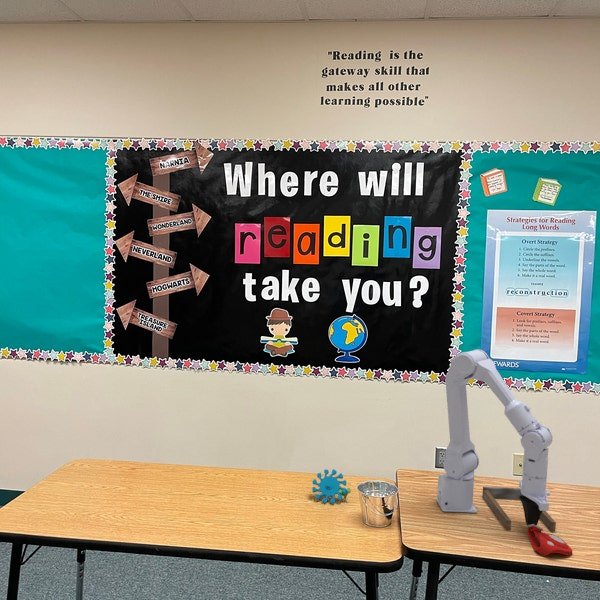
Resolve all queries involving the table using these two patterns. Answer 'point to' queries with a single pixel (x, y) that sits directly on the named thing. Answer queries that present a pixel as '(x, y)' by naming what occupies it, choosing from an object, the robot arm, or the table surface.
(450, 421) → the robot arm
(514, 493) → the frame
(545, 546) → the tracker holder
